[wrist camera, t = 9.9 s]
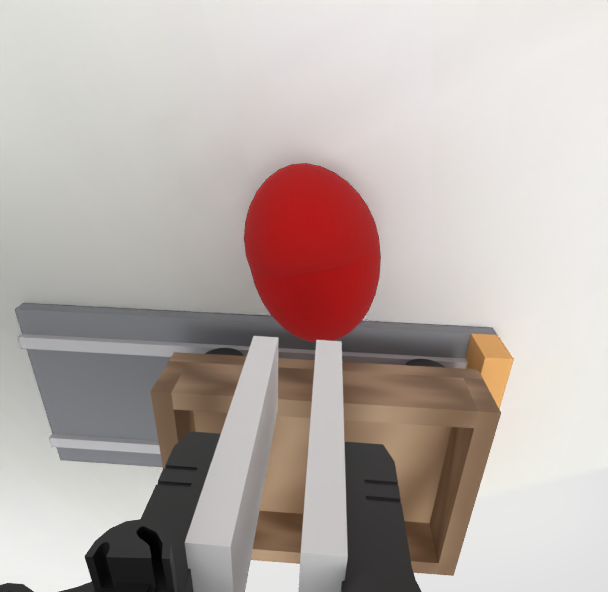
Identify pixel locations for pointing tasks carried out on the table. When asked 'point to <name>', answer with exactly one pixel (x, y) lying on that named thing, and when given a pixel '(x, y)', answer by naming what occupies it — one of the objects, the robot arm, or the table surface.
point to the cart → (357, 428)
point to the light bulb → (312, 252)
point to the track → (197, 339)
